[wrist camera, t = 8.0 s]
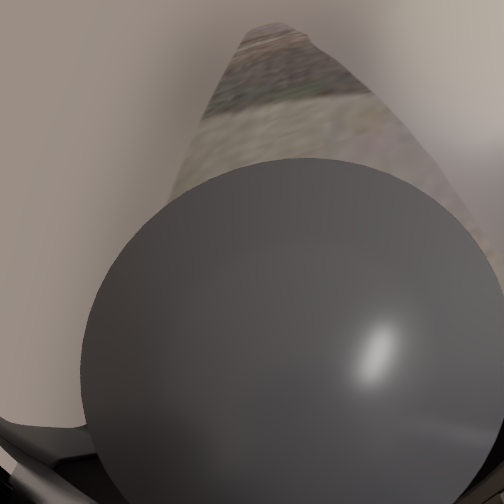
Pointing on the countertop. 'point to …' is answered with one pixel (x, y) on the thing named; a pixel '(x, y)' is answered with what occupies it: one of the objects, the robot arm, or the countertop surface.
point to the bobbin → (296, 345)
